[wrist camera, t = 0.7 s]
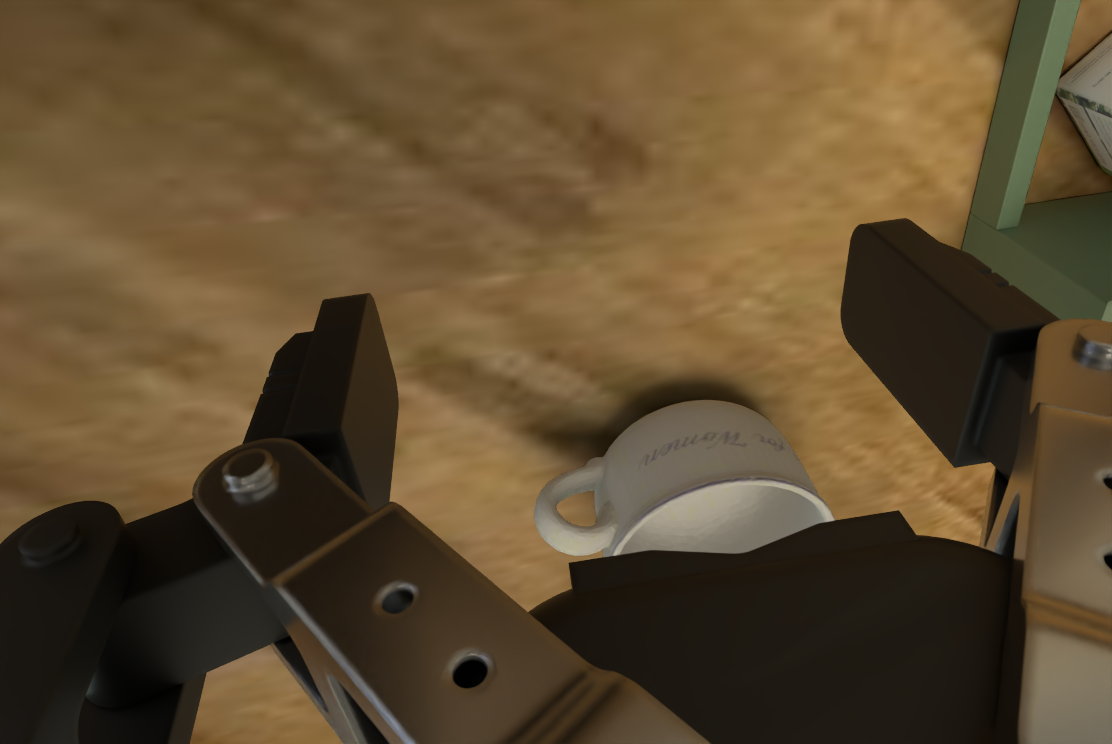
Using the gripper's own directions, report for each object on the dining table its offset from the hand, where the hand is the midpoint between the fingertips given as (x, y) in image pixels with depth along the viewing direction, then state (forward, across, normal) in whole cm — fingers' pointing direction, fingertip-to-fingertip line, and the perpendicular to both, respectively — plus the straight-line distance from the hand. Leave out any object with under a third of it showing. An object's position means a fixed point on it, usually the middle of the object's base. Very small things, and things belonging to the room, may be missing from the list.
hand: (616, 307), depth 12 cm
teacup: (+19, -5, +20) cm, 28 cm away
